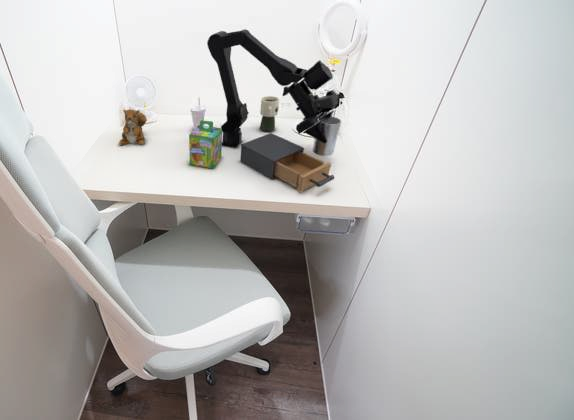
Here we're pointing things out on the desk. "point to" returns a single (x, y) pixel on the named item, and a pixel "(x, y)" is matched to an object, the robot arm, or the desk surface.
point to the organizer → (267, 153)
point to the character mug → (269, 112)
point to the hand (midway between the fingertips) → (330, 138)
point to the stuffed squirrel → (133, 127)
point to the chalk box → (205, 145)
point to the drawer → (303, 171)
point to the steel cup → (327, 136)
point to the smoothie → (197, 114)
